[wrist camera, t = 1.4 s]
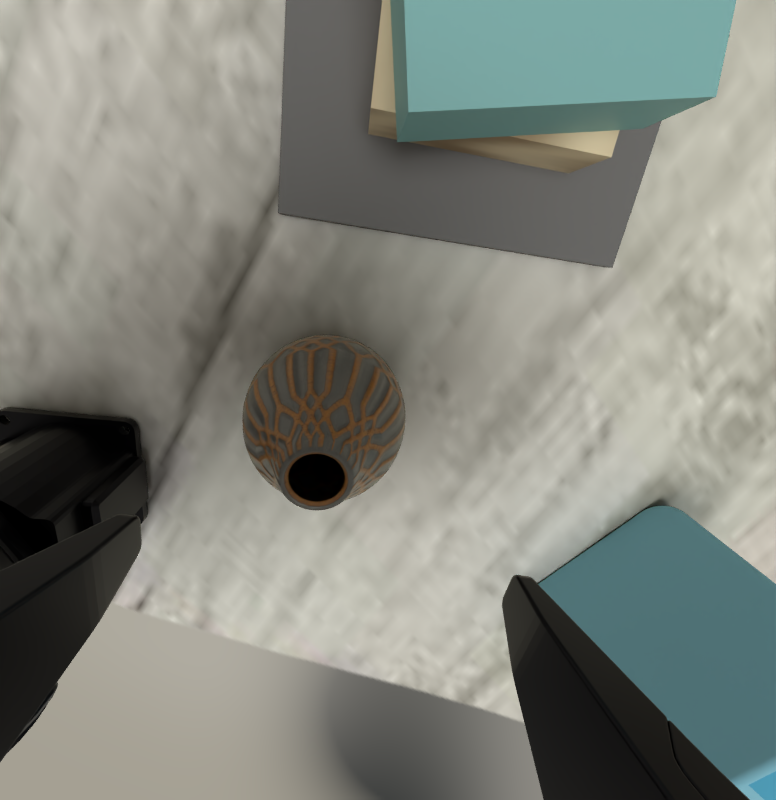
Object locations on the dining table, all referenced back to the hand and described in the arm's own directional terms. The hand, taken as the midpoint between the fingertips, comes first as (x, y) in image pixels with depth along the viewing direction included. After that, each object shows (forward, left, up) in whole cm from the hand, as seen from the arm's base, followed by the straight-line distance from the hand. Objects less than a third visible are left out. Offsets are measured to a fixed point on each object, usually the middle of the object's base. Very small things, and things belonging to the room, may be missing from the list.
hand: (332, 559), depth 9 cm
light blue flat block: (+19, -11, -12) cm, 25 cm away
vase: (-1, 0, -12) cm, 12 cm away
